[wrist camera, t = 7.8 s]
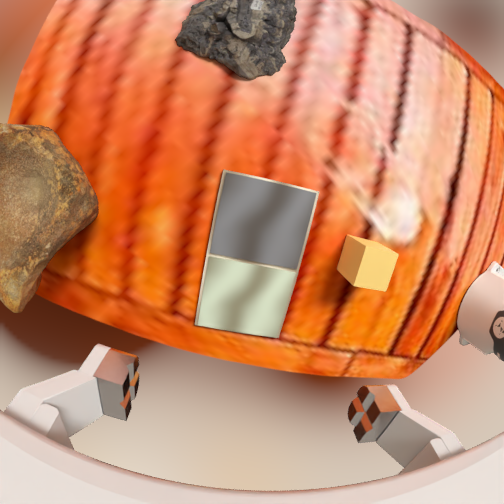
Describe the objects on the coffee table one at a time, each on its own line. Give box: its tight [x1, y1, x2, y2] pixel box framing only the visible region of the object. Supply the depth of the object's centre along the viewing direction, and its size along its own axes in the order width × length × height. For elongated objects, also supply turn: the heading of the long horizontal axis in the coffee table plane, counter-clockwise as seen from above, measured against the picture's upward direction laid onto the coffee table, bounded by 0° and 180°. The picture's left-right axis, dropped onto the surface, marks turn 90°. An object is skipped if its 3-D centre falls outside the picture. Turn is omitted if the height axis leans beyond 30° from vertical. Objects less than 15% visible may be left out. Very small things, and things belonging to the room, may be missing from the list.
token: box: [337, 235, 399, 291], centre depth 34 cm, size 5×5×6 cm
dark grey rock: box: [175, 0, 297, 79], centre depth 25 cm, size 19×4×15 cm
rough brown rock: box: [0, 123, 98, 313], centre depth 25 cm, size 23×17×15 cm
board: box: [195, 170, 319, 338], centre depth 36 cm, size 12×21×1 cm, turn 168°
